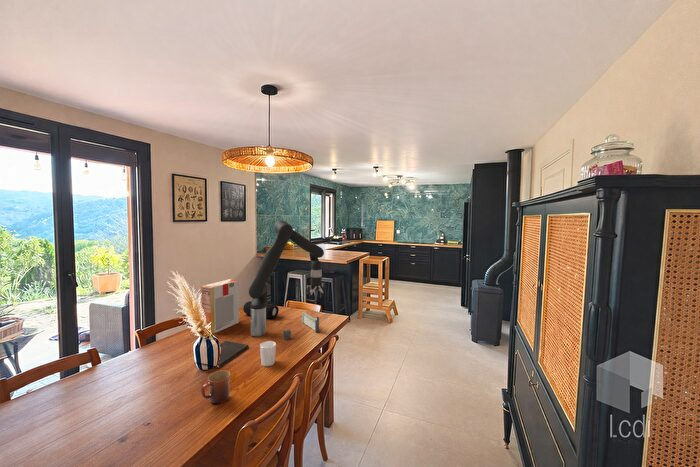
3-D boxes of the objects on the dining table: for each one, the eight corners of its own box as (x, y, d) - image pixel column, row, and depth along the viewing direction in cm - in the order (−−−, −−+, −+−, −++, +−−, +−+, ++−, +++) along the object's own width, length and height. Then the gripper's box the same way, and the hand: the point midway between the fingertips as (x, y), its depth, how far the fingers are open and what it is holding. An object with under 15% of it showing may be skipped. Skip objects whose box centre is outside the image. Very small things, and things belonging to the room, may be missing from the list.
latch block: (284, 339, 176) (284, 331, 176) (283, 337, 179) (283, 330, 178) (290, 338, 178) (290, 330, 177) (289, 337, 180) (289, 329, 180)
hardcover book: (193, 363, 148) (193, 359, 148) (225, 344, 170) (225, 340, 170) (219, 369, 143) (219, 364, 143) (248, 348, 165) (248, 344, 165)
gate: (317, 330, 190) (317, 319, 189) (314, 331, 189) (314, 320, 188) (304, 321, 205) (304, 311, 204) (301, 322, 204) (301, 312, 203)
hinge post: (315, 333, 187) (316, 318, 186) (314, 331, 189) (315, 316, 188) (319, 332, 187) (319, 317, 187) (318, 331, 190) (318, 316, 189)
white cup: (279, 361, 151) (279, 342, 150) (268, 368, 144) (268, 349, 143) (267, 357, 154) (267, 339, 153) (256, 364, 147) (256, 345, 146)
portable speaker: (279, 316, 216) (279, 303, 215) (271, 320, 206) (271, 307, 206) (251, 311, 224) (251, 299, 223) (242, 316, 215) (242, 302, 214)
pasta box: (230, 320, 205) (230, 279, 203) (239, 322, 202) (238, 280, 200) (202, 332, 185) (201, 286, 182) (211, 334, 181) (210, 287, 179)
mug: (222, 390, 125) (222, 367, 125) (235, 397, 121) (235, 374, 120) (195, 405, 115) (195, 381, 115) (208, 414, 111) (208, 388, 110)
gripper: (309, 278, 192) (309, 302, 193) (327, 275, 200) (327, 298, 202) (304, 275, 198) (304, 299, 199) (322, 273, 206) (322, 296, 208)
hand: (316, 298), depth 200 cm, fingers open, 7 cm apart
